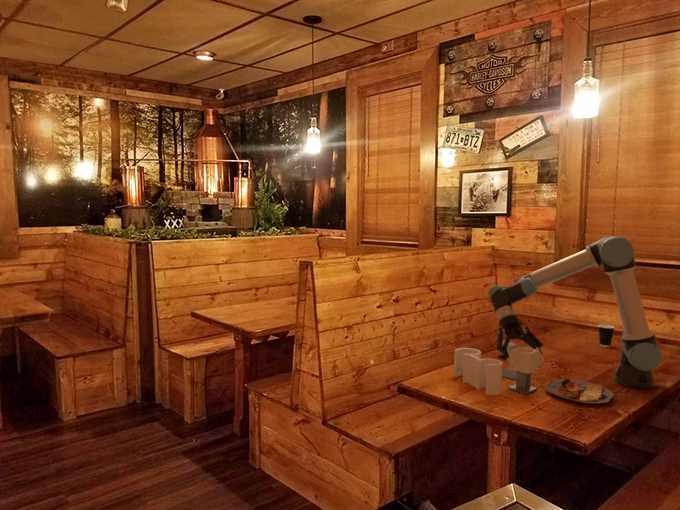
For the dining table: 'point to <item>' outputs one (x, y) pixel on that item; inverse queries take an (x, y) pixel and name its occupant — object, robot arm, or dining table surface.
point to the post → (523, 383)
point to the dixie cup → (605, 335)
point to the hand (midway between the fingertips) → (527, 364)
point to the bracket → (478, 370)
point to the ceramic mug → (508, 347)
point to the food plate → (589, 390)
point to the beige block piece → (525, 359)
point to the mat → (509, 374)
